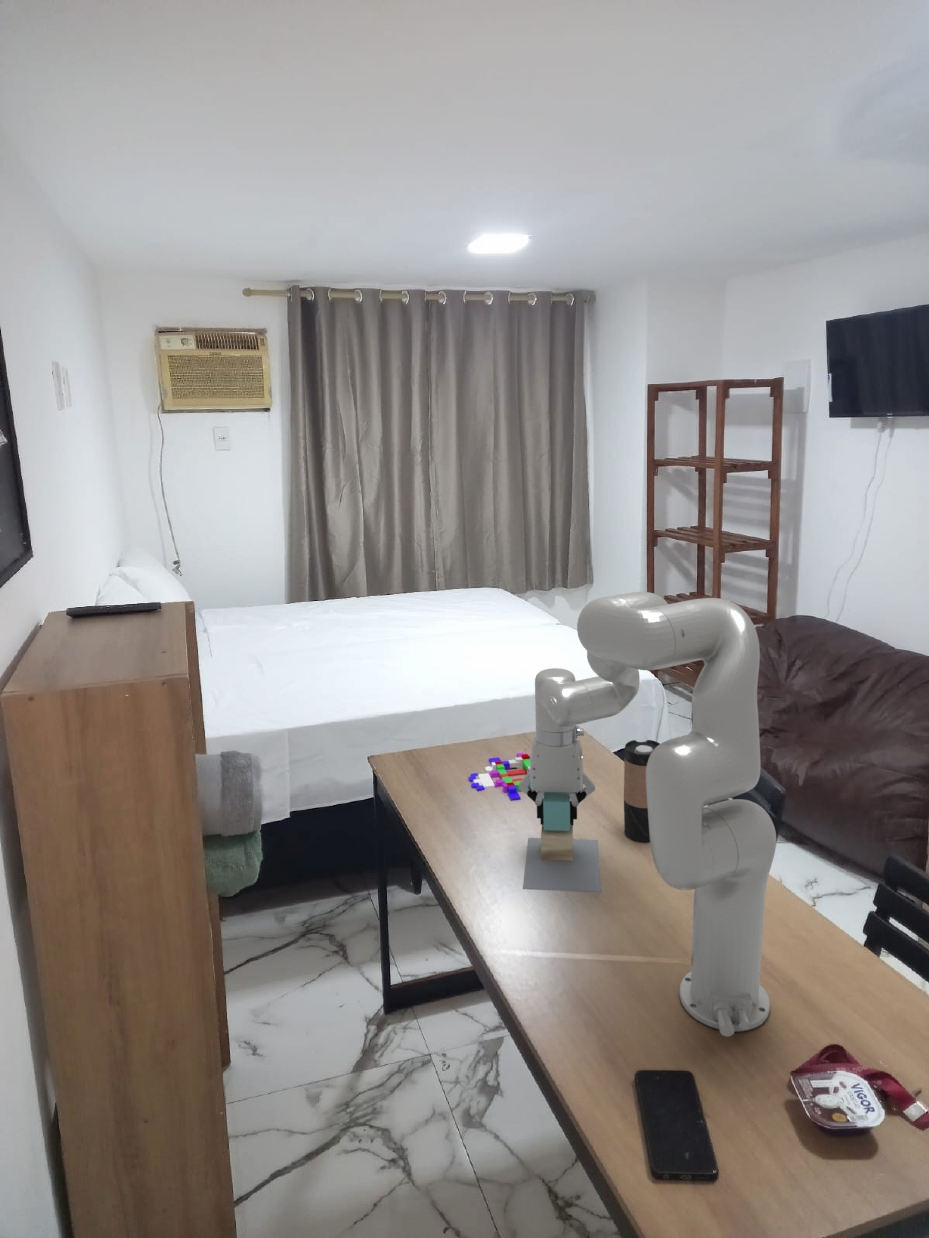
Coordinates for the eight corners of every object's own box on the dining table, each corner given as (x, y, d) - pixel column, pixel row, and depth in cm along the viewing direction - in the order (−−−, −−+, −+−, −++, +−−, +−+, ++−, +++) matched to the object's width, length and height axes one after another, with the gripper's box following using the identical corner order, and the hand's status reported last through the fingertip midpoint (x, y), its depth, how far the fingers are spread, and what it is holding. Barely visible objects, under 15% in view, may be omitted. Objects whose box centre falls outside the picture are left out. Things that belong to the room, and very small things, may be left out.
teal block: (570, 830, 154) (569, 802, 152) (543, 830, 155) (543, 801, 153) (570, 817, 159) (569, 790, 157) (544, 817, 159) (544, 789, 158)
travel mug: (646, 852, 159) (648, 758, 154) (615, 838, 164) (616, 746, 159) (669, 837, 163) (672, 746, 158) (638, 824, 169) (640, 735, 164)
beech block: (572, 860, 155) (572, 837, 154) (541, 859, 156) (541, 836, 154) (572, 844, 161) (572, 821, 159) (542, 843, 161) (542, 820, 160)
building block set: (461, 765, 202) (460, 749, 201) (540, 756, 205) (540, 740, 204) (482, 812, 178) (481, 794, 177) (571, 801, 181) (571, 783, 180)
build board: (600, 896, 145) (600, 891, 145) (522, 893, 147) (522, 888, 147) (598, 844, 162) (598, 839, 162) (528, 842, 164) (528, 837, 164)
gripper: (601, 727, 154) (601, 813, 159) (512, 726, 157) (514, 811, 161) (602, 742, 147) (602, 832, 152) (509, 741, 149) (511, 830, 154)
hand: (557, 820), depth 156 cm, fingers closed on teal block, 5 cm apart
